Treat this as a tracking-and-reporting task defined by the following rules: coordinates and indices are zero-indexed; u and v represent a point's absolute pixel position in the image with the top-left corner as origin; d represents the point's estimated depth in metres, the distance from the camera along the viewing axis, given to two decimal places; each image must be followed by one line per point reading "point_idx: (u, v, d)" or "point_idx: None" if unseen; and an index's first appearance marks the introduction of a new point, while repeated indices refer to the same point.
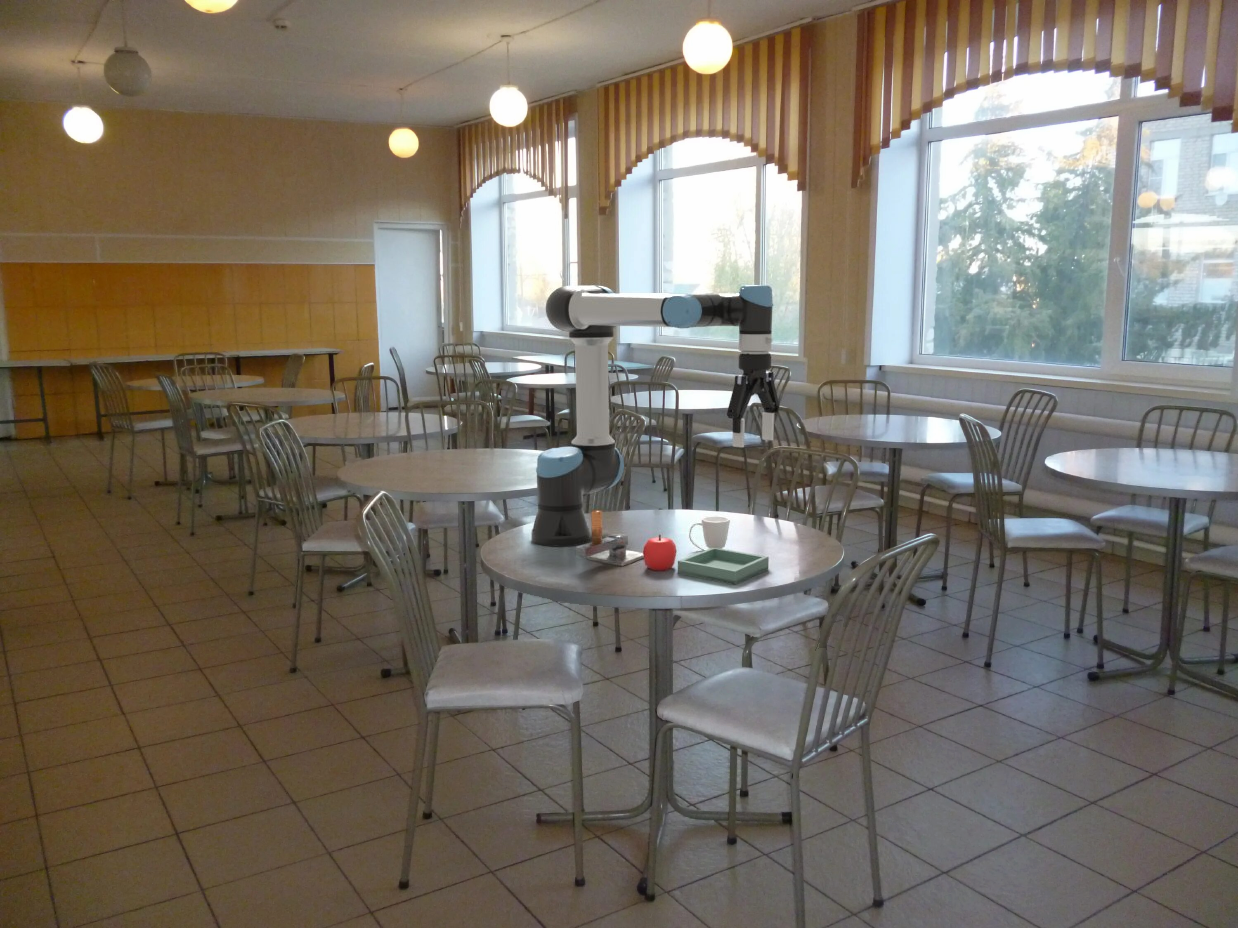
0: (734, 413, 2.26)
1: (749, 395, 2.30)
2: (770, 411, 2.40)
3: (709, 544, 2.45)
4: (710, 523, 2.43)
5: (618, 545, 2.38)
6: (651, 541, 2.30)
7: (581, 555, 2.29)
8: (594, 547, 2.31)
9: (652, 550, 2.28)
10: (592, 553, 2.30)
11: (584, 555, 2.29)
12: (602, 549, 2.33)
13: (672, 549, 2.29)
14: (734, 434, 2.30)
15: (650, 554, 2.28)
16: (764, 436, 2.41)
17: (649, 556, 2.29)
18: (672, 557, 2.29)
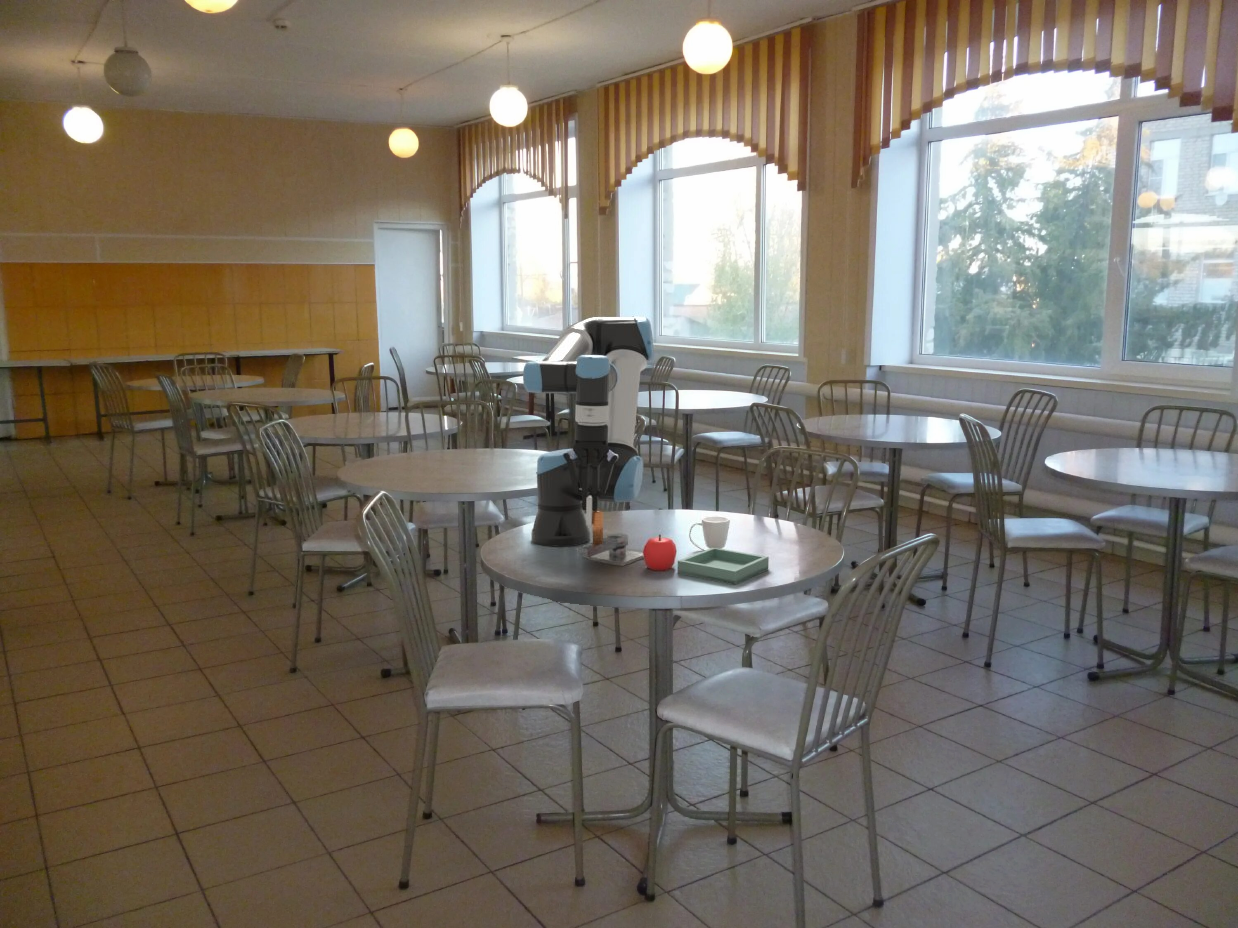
0: None
1: (583, 470, 2.30)
2: (592, 493, 2.31)
3: (709, 544, 2.45)
4: (710, 523, 2.43)
5: (618, 545, 2.38)
6: (651, 541, 2.30)
7: (583, 555, 2.29)
8: (596, 547, 2.31)
9: (652, 550, 2.28)
10: (594, 553, 2.30)
11: (586, 555, 2.28)
12: (603, 549, 2.33)
13: (672, 549, 2.29)
14: None
15: (651, 554, 2.28)
16: None
17: (649, 556, 2.29)
18: (672, 557, 2.29)
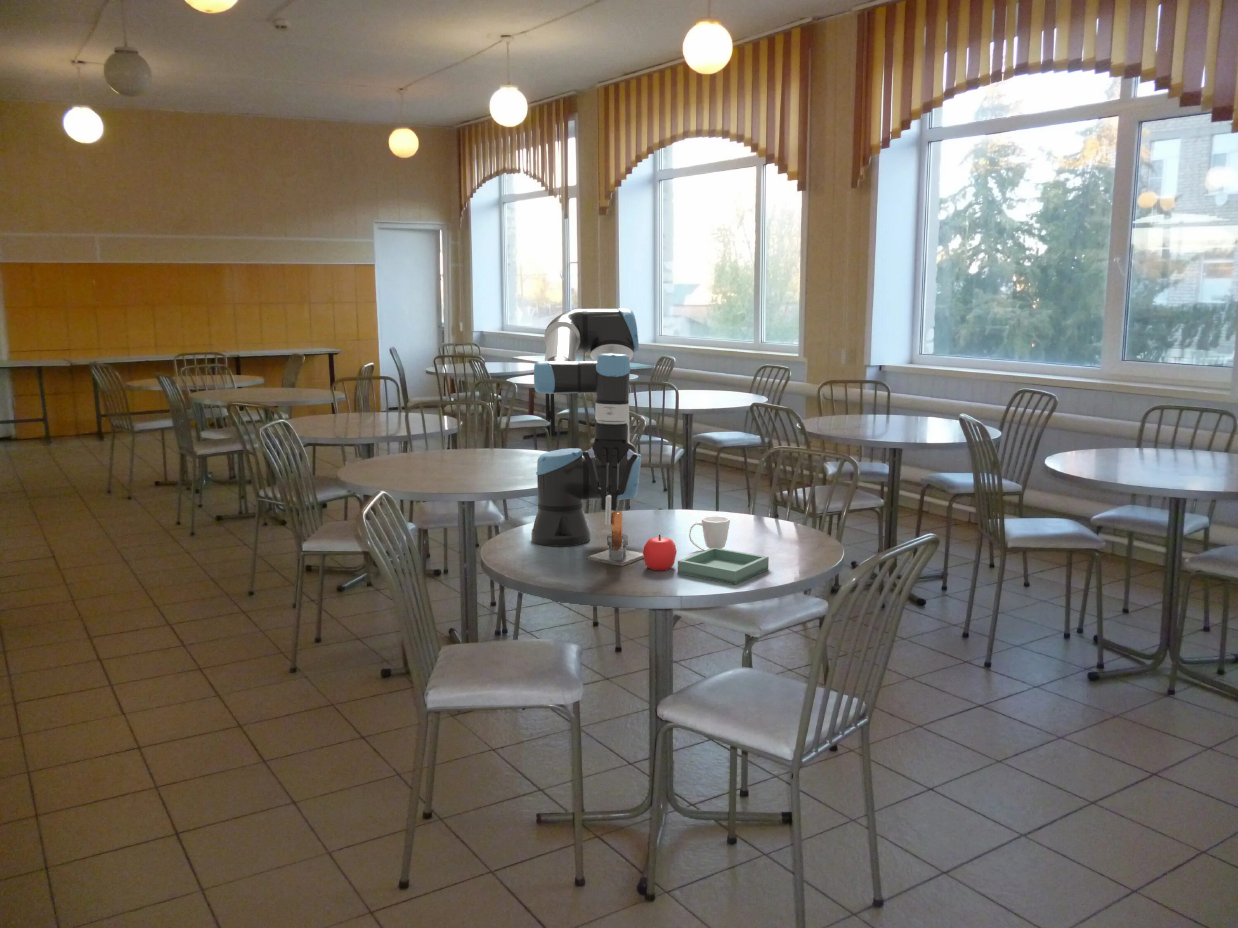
0: None
1: (603, 469, 2.28)
2: (611, 493, 2.30)
3: (709, 544, 2.45)
4: (710, 523, 2.43)
5: (624, 544, 2.38)
6: (651, 541, 2.30)
7: (617, 558, 2.26)
8: (622, 548, 2.29)
9: (652, 550, 2.28)
10: None
11: (621, 557, 2.26)
12: None
13: (672, 549, 2.29)
14: None
15: (650, 554, 2.28)
16: None
17: (649, 556, 2.29)
18: (672, 557, 2.29)
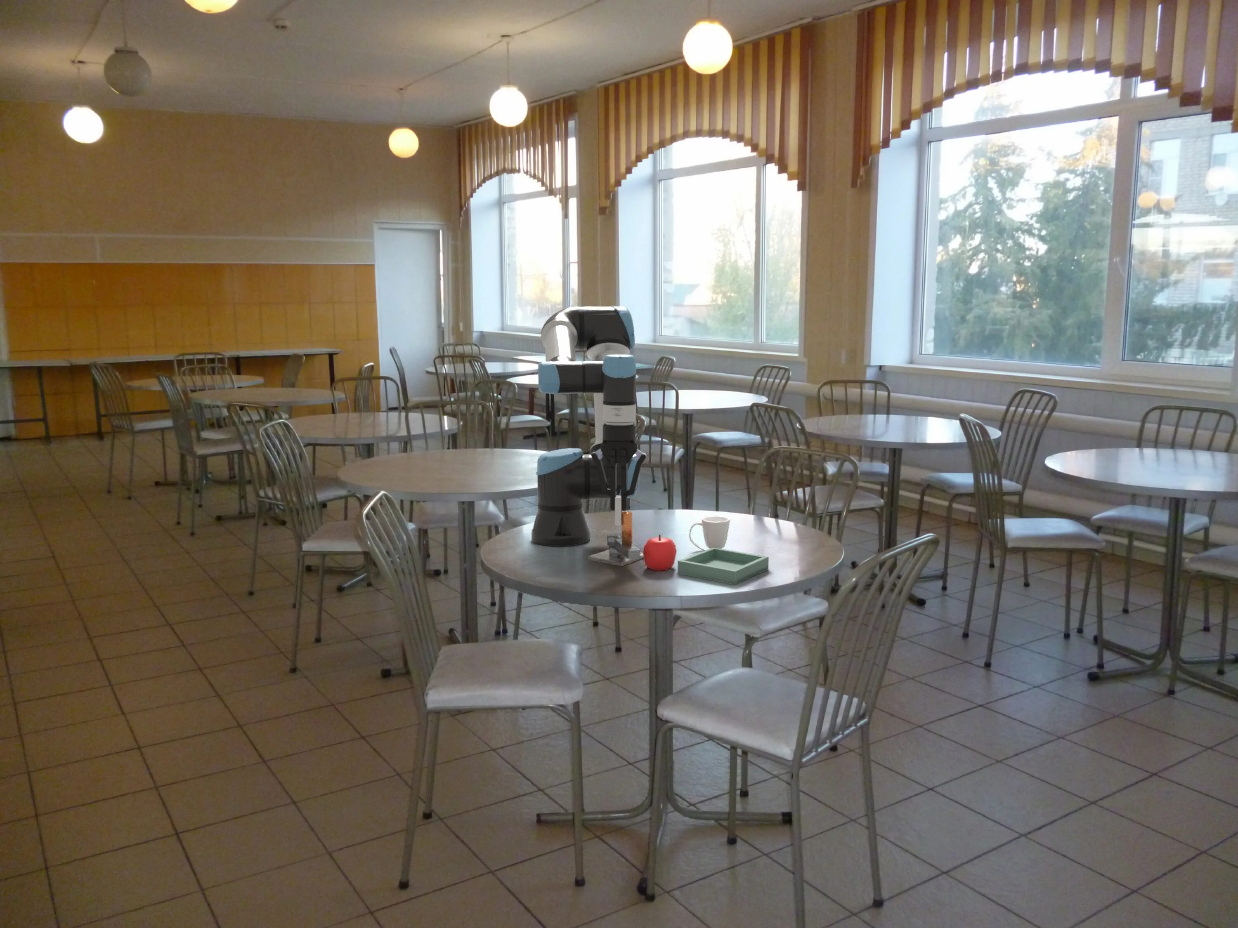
0: None
1: (611, 470, 2.29)
2: (621, 493, 2.30)
3: (709, 544, 2.45)
4: (710, 523, 2.43)
5: None
6: (651, 541, 2.30)
7: (635, 557, 2.27)
8: None
9: (652, 550, 2.28)
10: None
11: (639, 556, 2.27)
12: None
13: (672, 549, 2.29)
14: None
15: (650, 554, 2.28)
16: None
17: (649, 556, 2.29)
18: (672, 557, 2.29)
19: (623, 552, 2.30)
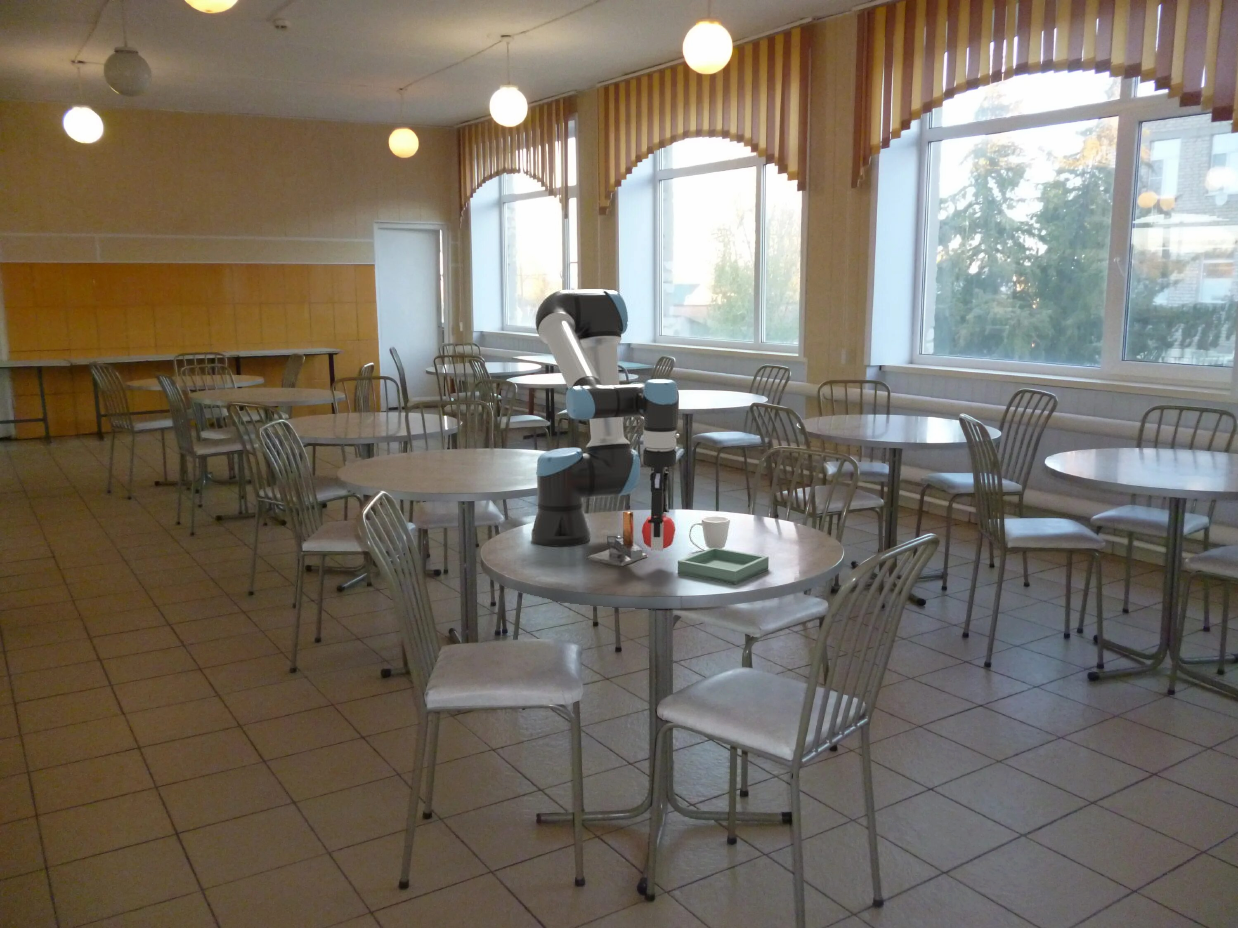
0: (659, 520, 2.23)
1: (663, 495, 2.26)
2: (662, 510, 2.35)
3: (709, 544, 2.45)
4: (710, 523, 2.43)
5: None
6: None
7: (637, 557, 2.27)
8: None
9: None
10: None
11: (641, 556, 2.27)
12: None
13: (671, 527, 2.29)
14: (653, 538, 2.27)
15: (650, 533, 2.28)
16: None
17: (648, 534, 2.29)
18: (671, 535, 2.29)
19: (625, 552, 2.30)
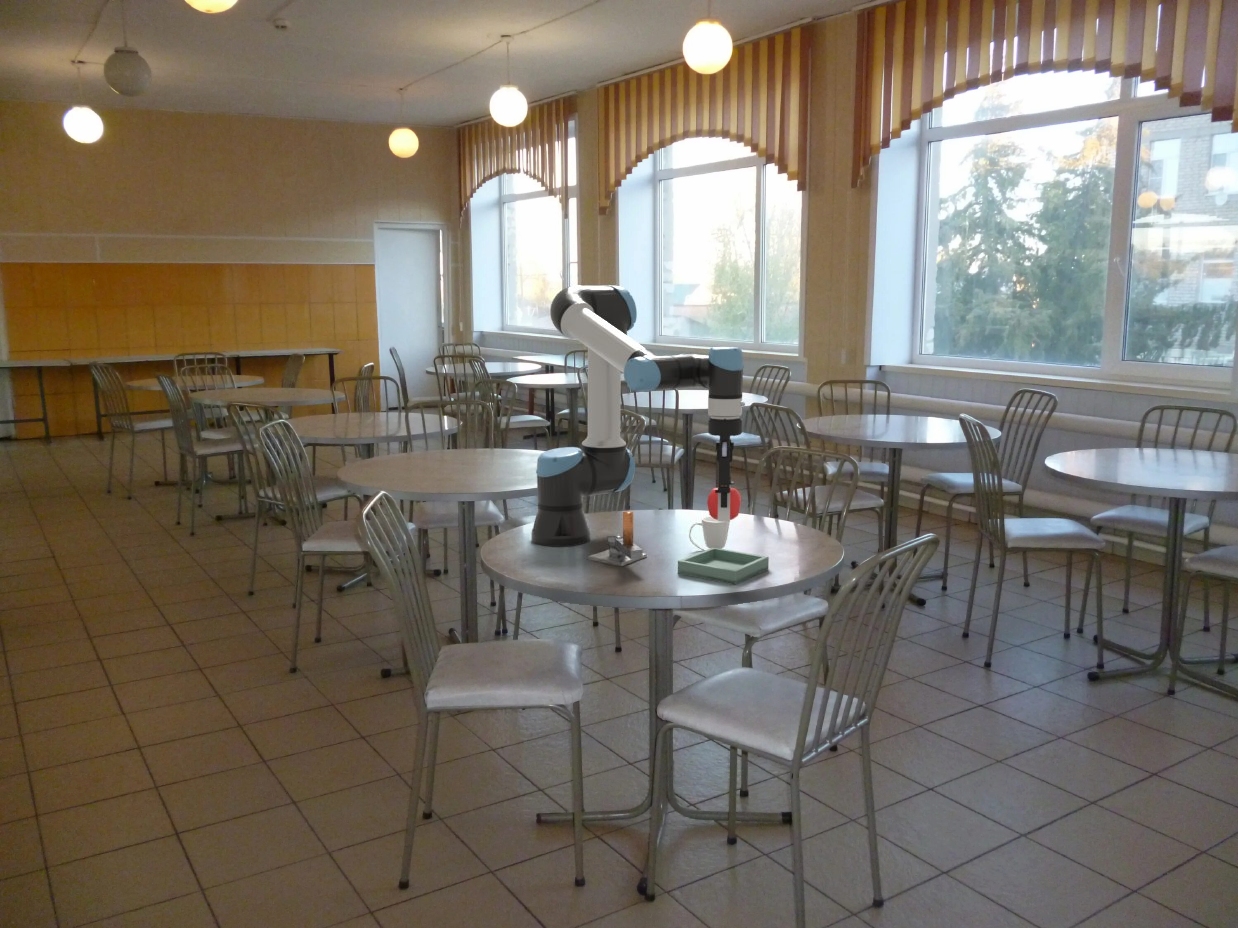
0: (727, 489, 2.18)
1: None
2: None
3: (709, 544, 2.45)
4: (710, 523, 2.43)
5: None
6: None
7: (637, 557, 2.27)
8: None
9: (717, 499, 2.23)
10: None
11: (641, 556, 2.27)
12: None
13: (738, 498, 2.24)
14: (720, 509, 2.22)
15: (716, 504, 2.23)
16: None
17: (714, 505, 2.23)
18: (738, 506, 2.24)
19: (625, 552, 2.30)
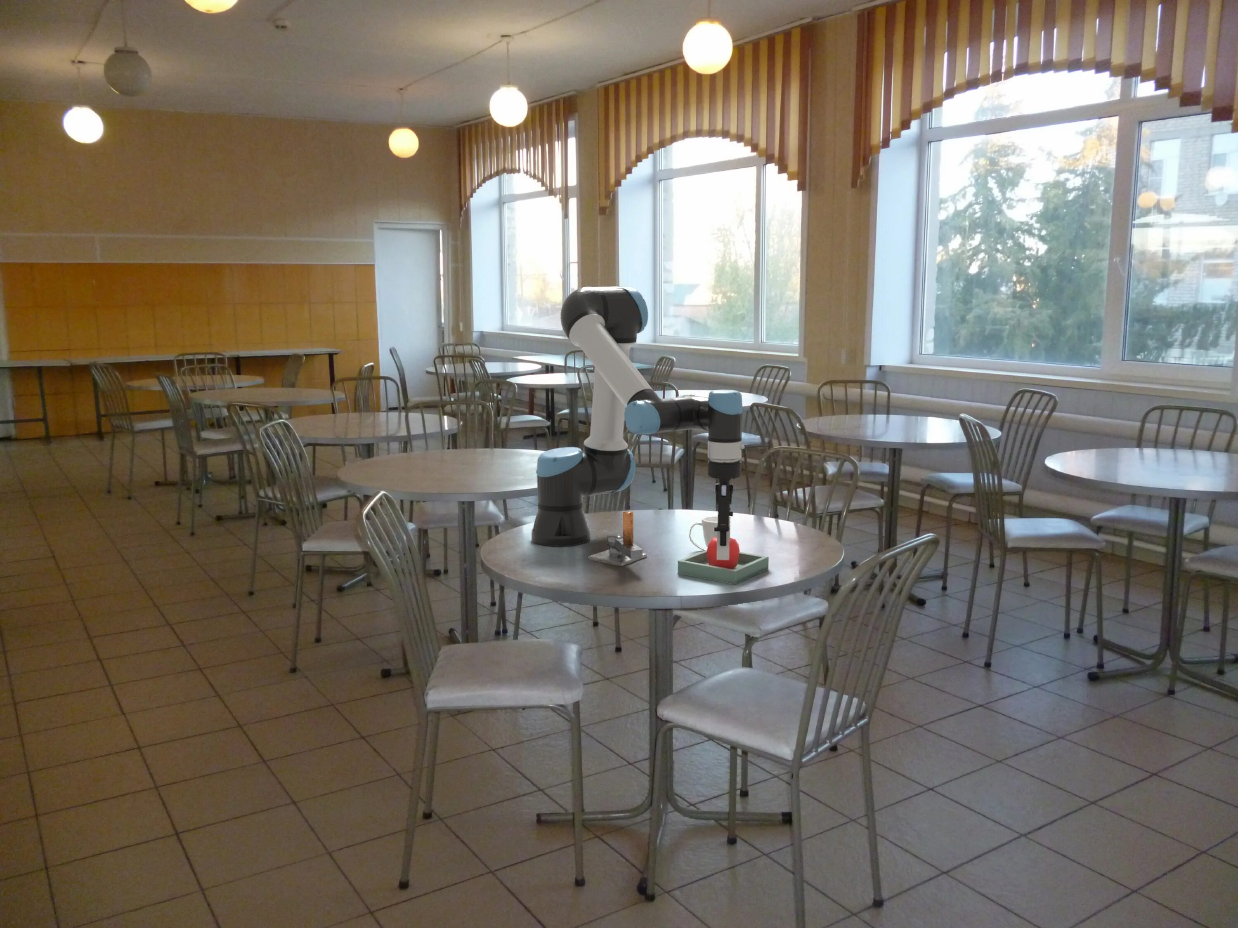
0: (726, 527, 2.17)
1: (729, 505, 2.22)
2: None
3: None
4: (710, 523, 2.43)
5: None
6: (715, 541, 2.26)
7: (637, 557, 2.27)
8: None
9: None
10: None
11: (641, 556, 2.27)
12: None
13: (737, 549, 2.26)
14: (719, 547, 2.21)
15: (715, 554, 2.25)
16: None
17: (713, 556, 2.25)
18: (737, 557, 2.26)
19: (625, 552, 2.30)
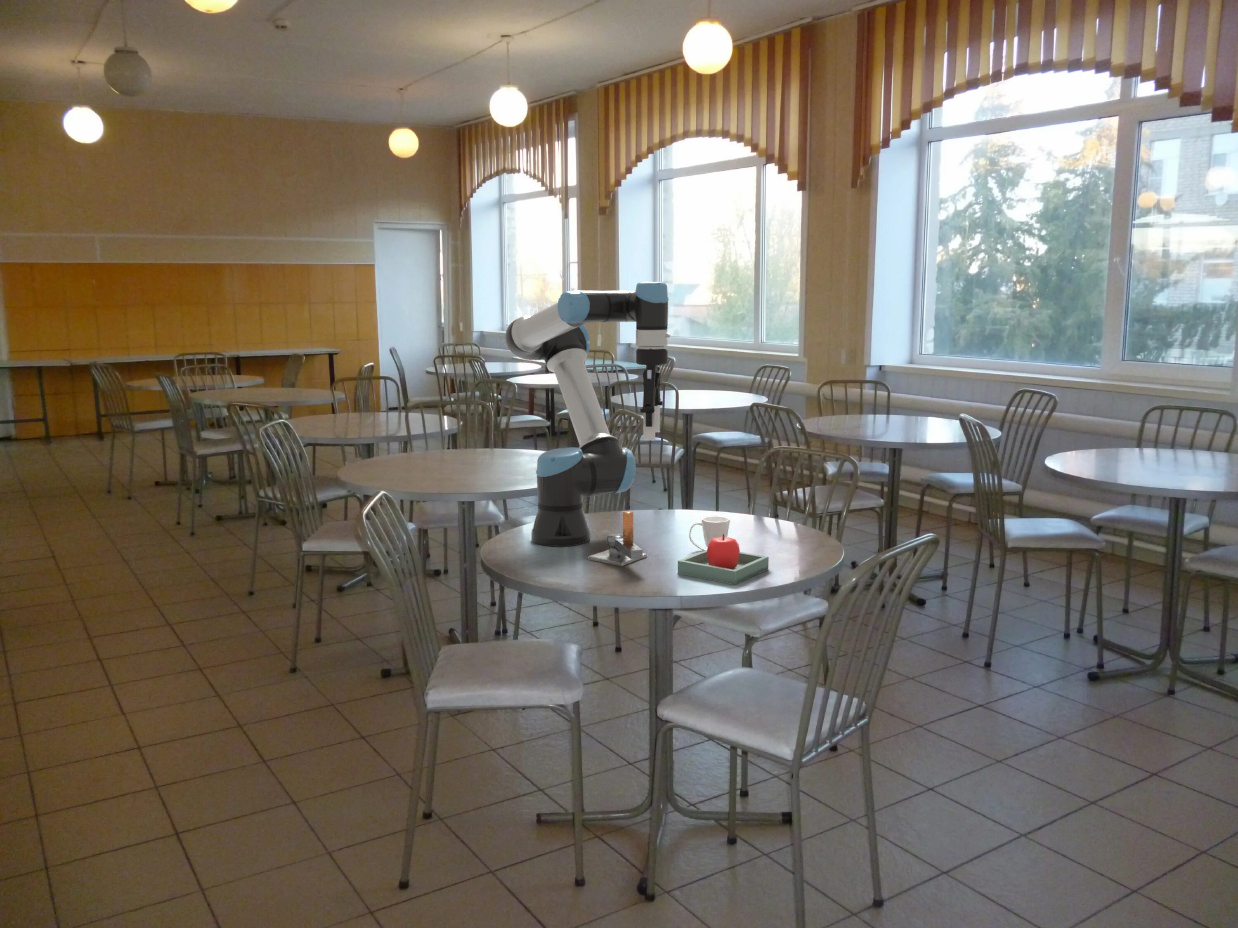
0: (651, 407, 2.31)
1: (655, 389, 2.36)
2: (656, 404, 2.48)
3: None
4: (710, 523, 2.43)
5: None
6: (715, 541, 2.26)
7: (637, 557, 2.27)
8: None
9: (717, 550, 2.25)
10: None
11: (641, 556, 2.27)
12: None
13: (737, 549, 2.26)
14: (645, 428, 2.35)
15: (715, 555, 2.25)
16: None
17: (713, 556, 2.25)
18: (737, 557, 2.26)
19: (625, 552, 2.30)
